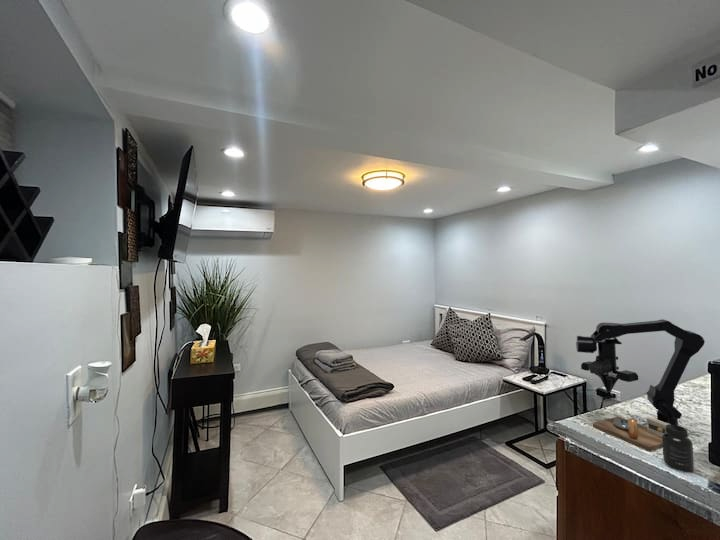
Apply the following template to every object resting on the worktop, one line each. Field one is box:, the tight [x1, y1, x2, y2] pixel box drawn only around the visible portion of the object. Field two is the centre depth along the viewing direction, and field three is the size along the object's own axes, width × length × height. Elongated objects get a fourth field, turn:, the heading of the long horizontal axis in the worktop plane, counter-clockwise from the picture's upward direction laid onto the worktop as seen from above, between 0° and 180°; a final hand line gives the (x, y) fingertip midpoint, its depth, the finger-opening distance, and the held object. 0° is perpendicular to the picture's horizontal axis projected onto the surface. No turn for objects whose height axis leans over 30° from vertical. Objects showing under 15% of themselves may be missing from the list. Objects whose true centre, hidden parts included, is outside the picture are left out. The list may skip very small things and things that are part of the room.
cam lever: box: [613, 417, 638, 438], centre depth 118 cm, size 13×7×6 cm, turn 156°
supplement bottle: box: [662, 424, 695, 473], centre depth 99 cm, size 7×7×12 cm
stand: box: [592, 415, 669, 453], centre depth 119 cm, size 15×19×6 cm
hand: (608, 391), depth 129 cm, fingers closed
